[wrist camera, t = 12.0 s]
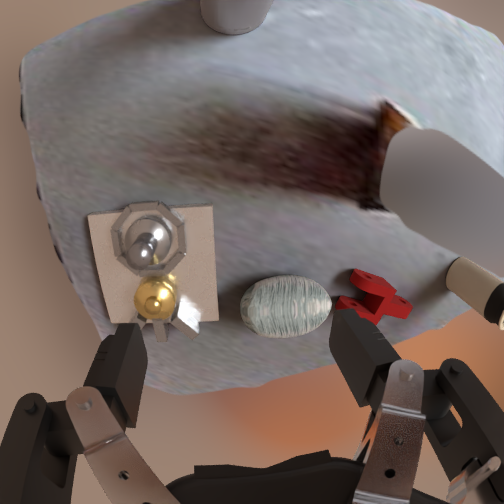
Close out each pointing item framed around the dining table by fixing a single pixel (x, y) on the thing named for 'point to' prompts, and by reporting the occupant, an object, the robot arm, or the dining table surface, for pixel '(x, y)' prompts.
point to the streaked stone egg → (284, 306)
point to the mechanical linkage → (375, 298)
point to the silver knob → (147, 242)
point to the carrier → (159, 268)
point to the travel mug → (478, 289)
